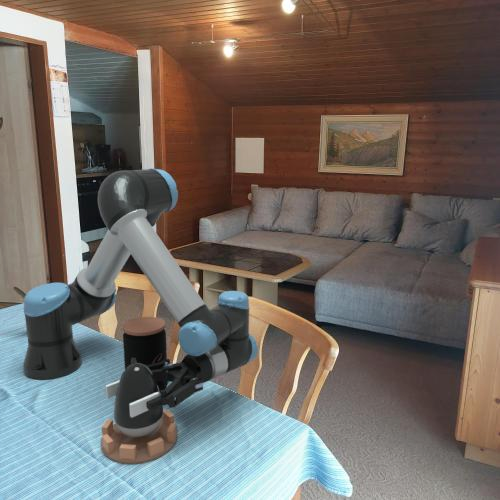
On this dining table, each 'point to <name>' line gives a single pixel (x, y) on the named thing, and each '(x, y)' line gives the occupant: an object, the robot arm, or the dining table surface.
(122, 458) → the castellated collar
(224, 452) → the dining table surface
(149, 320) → the coffee jar
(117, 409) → the pump dispenser
